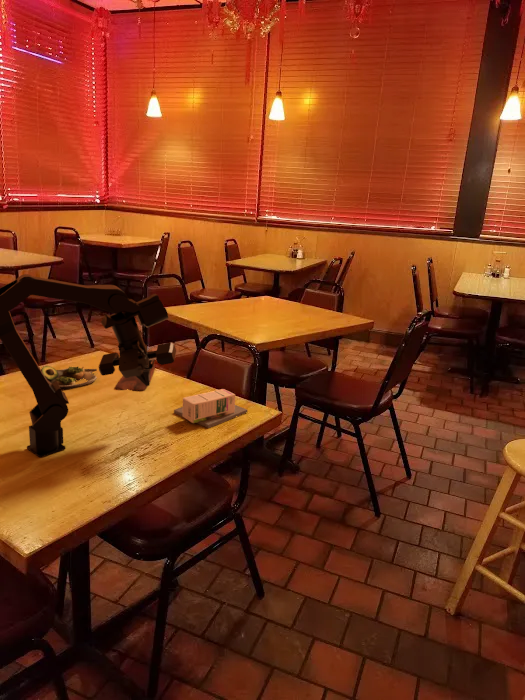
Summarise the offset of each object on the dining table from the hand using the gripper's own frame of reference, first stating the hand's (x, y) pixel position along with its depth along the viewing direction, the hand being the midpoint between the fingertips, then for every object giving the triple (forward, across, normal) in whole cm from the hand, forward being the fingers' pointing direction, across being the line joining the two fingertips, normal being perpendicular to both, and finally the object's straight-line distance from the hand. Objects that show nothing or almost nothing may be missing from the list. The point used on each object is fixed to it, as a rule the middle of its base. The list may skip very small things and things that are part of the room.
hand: (148, 385), depth 132 cm
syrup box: (+12, +7, +1) cm, 14 cm away
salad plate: (+14, -37, +29) cm, 49 cm away
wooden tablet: (+21, -15, +35) cm, 44 cm away
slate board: (+19, +12, +8) cm, 24 cm away
